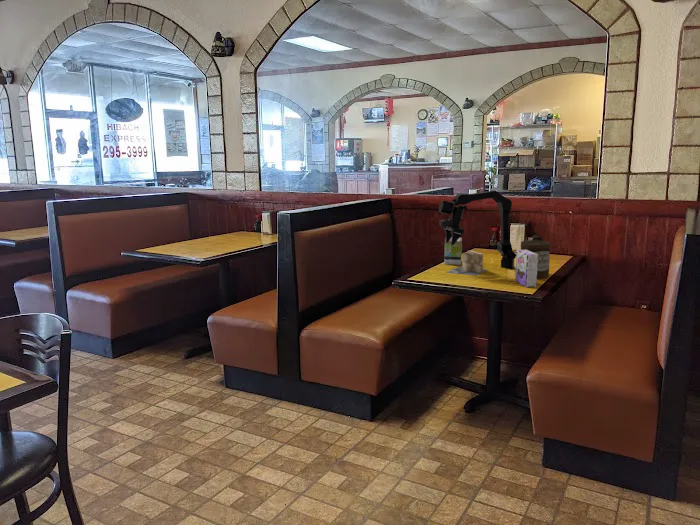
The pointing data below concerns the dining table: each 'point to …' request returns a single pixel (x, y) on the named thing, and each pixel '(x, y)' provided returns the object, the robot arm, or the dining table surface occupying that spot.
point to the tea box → (453, 252)
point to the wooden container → (539, 254)
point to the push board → (460, 271)
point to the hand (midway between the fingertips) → (449, 243)
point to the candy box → (526, 268)
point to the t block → (472, 261)
